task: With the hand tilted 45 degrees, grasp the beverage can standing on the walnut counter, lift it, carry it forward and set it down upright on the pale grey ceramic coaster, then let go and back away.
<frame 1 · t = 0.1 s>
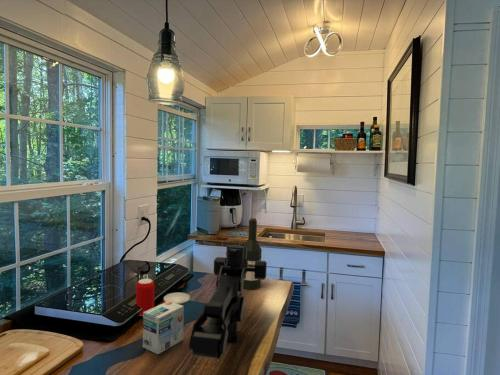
hand: (244, 261, 134), 17 cm above the counter, tool horizontal, fingers open, 9 cm apart
wine bottle: (250, 287, 154), on the counter
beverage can: (145, 314, 124), on the counter
coaster: (176, 298, 138), on the counter
light bulb box: (163, 344, 105), on the counter
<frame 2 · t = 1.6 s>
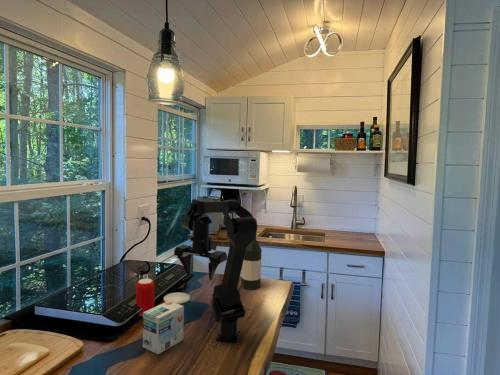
hand: (199, 277, 125), 13 cm above the counter, tool pointing down, fingers open, 9 cm apart
nothing on the counter moved.
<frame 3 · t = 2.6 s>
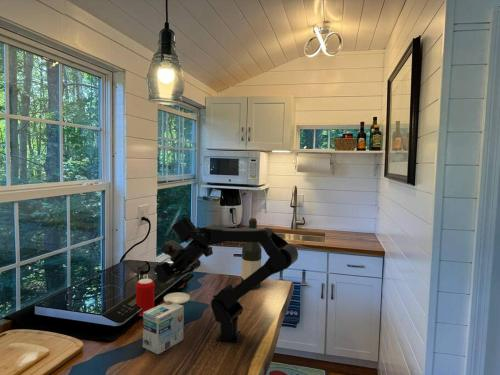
hand: (164, 280, 120), 13 cm above the counter, tool tilted 45°, fingers open, 9 cm apart
nothing on the counter moved.
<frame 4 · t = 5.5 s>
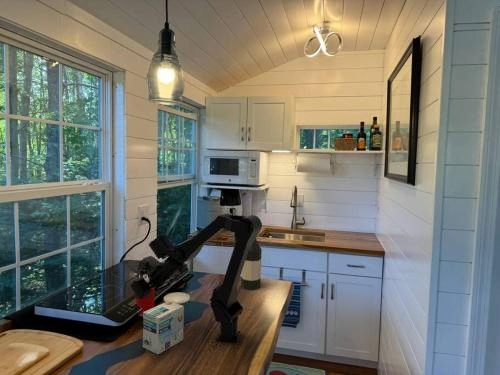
hand: (142, 294, 124), 7 cm above the counter, tool tilted 45°, fingers closed on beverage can, 6 cm apart
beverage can: (145, 314, 124), on the counter, touching gripper
everything else where it was.
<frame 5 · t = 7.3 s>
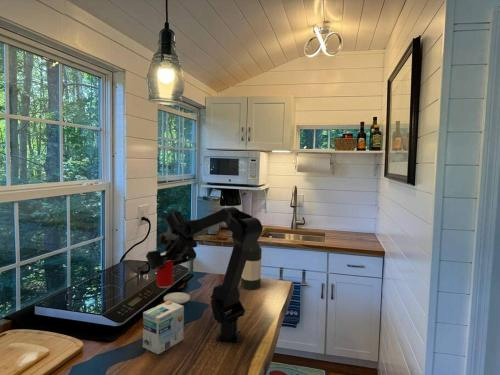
hand: (162, 267, 133), 13 cm above the counter, tool tilted 45°, fingers closed on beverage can, 6 cm apart
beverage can: (164, 286, 133), point 7 cm above the counter, touching gripper
everything else where it was.
when the fingers open (8 cm above the counter, at t = 9.4 s): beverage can stays where it is, resting on coaster.
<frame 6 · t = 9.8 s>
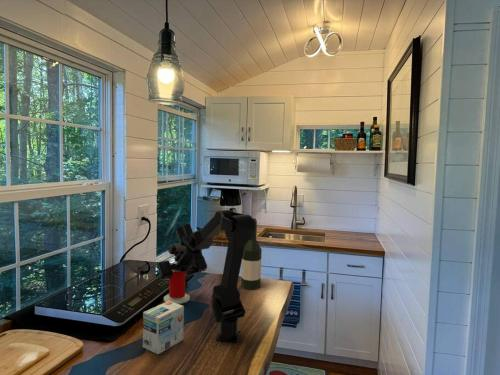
hand: (175, 277, 139), 8 cm above the counter, tool tilted 45°, fingers open, 9 cm apart
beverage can: (177, 297, 138), resting on coaster
everything else where it was.
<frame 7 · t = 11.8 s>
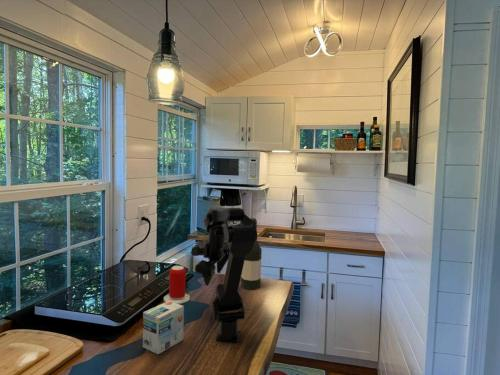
hand: (212, 278, 130), 11 cm above the counter, tool tilted 15°, fingers open, 9 cm apart
nothing on the counter moved.
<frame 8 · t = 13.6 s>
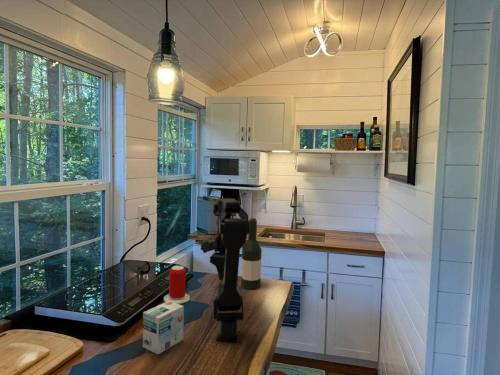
hand: (224, 275, 128), 13 cm above the counter, tool pointing down, fingers open, 9 cm apart
nothing on the counter moved.
at the end: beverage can inside the target area on the coaster (0.1 cm from its centre), point 0.4 cm above the coaster's base; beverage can tilted 0°; the gripper is holding nothing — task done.
